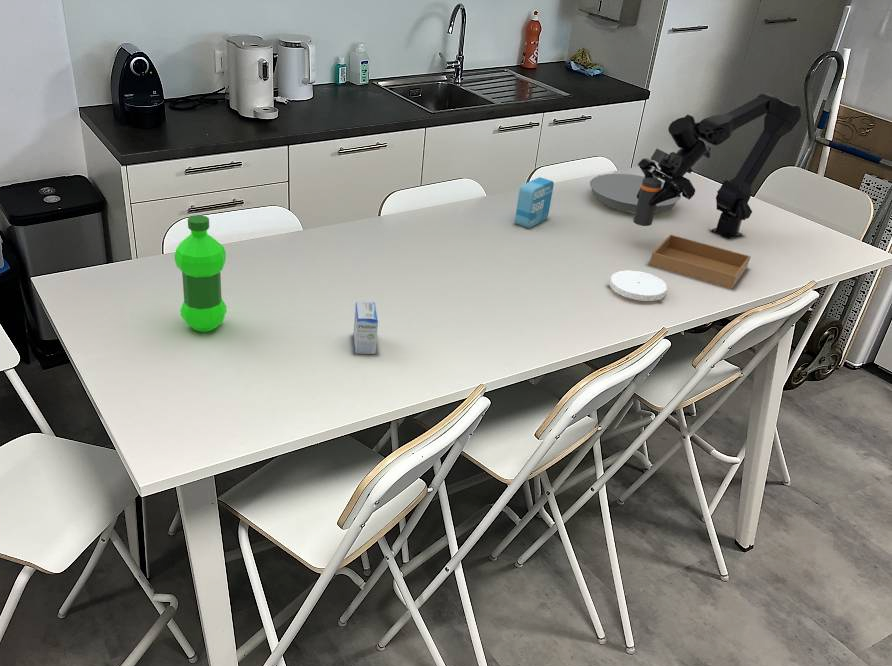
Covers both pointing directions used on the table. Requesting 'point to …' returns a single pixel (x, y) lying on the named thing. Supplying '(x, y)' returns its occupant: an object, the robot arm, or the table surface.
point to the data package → (534, 202)
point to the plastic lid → (638, 285)
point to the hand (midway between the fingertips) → (643, 201)
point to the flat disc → (624, 192)
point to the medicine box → (365, 328)
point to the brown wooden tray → (700, 261)
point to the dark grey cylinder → (646, 201)
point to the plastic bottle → (201, 276)
